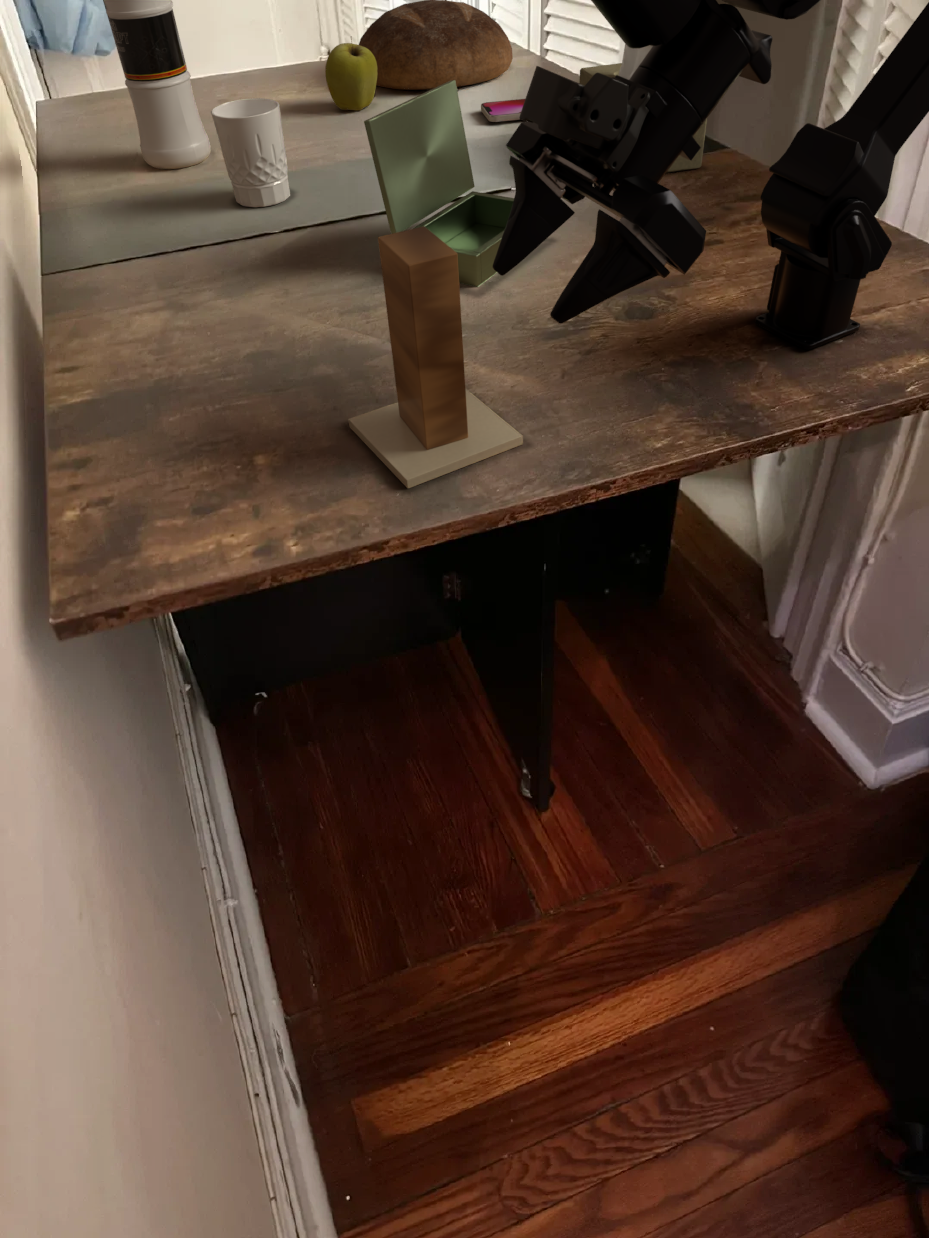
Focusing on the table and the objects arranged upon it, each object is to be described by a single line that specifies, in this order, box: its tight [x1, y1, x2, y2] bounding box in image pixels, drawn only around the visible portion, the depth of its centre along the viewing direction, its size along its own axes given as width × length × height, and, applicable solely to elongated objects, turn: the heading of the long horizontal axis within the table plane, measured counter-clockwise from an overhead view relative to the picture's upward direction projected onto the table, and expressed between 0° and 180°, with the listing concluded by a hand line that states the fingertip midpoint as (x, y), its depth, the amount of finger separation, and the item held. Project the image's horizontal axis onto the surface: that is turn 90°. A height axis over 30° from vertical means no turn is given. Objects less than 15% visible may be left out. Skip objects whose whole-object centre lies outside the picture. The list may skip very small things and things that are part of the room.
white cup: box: [210, 97, 291, 208], centre depth 105 cm, size 8×8×10 cm
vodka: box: [102, 0, 212, 170], centre depth 111 cm, size 9×9×30 cm
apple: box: [324, 37, 377, 111], centre depth 132 cm, size 8×8×10 cm
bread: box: [358, 0, 513, 91], centre depth 143 cm, size 26×27×10 cm
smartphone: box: [480, 98, 526, 123], centre depth 127 cm, size 7×1×15 cm
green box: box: [411, 190, 514, 288], centre depth 91 cm, size 10×15×4 cm, turn 147°
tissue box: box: [579, 43, 708, 174], centre depth 108 cm, size 19×10×16 cm, turn 14°
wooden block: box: [377, 226, 468, 450], centre depth 63 cm, size 4×6×14 cm, turn 25°
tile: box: [348, 387, 524, 489], centre depth 68 cm, size 10×10×1 cm
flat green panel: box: [363, 80, 476, 234], centre depth 88 cm, size 10×15×1 cm
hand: (524, 295), depth 64 cm, fingers open, 9 cm apart
